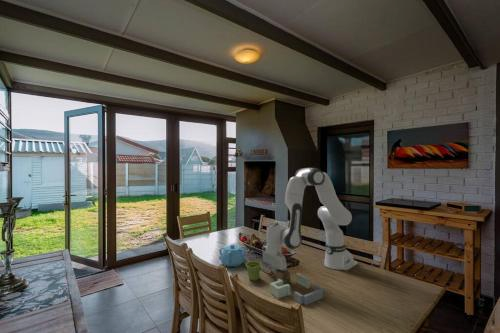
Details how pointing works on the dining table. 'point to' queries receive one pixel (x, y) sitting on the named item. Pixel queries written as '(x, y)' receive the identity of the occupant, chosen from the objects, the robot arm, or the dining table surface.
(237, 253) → the decorative pot
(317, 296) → the dock
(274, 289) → the pale grey notched piece
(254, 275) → the plant pot
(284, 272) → the block
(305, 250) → the dining table surface
